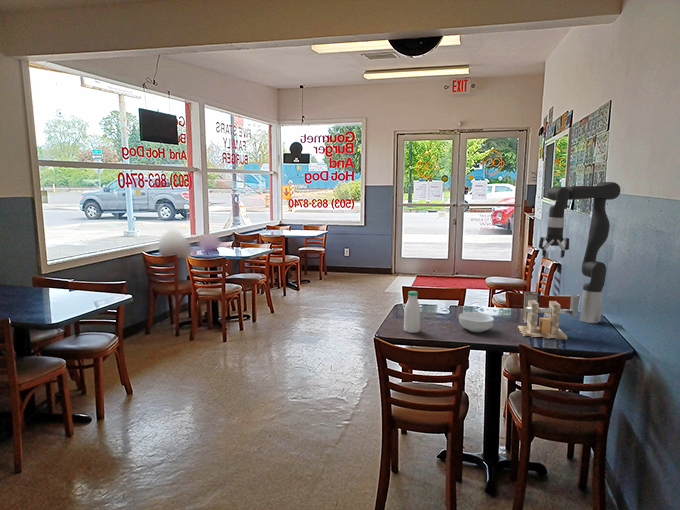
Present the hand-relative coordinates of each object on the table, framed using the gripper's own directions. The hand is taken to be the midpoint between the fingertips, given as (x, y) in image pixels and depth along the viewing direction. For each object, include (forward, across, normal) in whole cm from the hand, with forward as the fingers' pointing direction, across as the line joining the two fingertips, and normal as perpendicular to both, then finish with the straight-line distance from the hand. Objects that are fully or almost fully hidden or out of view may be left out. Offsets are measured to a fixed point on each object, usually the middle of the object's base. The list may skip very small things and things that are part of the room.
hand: (552, 257), depth 254 cm
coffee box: (+36, +8, -3) cm, 37 cm away
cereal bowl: (+36, +39, +17) cm, 56 cm away
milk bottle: (+36, +71, +25) cm, 84 cm away
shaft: (+26, +3, +17) cm, 31 cm away
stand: (+36, +7, +17) cm, 41 cm away
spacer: (+35, +6, +17) cm, 39 cm away
